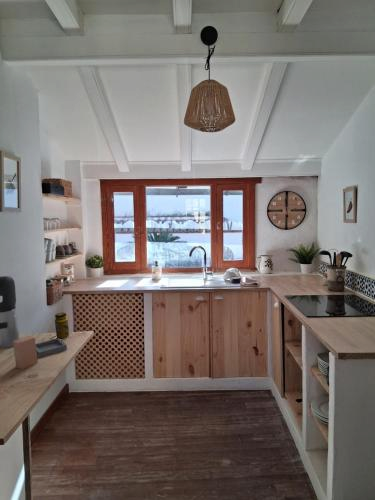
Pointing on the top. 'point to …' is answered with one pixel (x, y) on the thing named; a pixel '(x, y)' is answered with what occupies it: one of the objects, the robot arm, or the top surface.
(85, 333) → the top surface
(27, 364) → the brick
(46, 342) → the tray
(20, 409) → the top surface
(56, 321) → the condiment
